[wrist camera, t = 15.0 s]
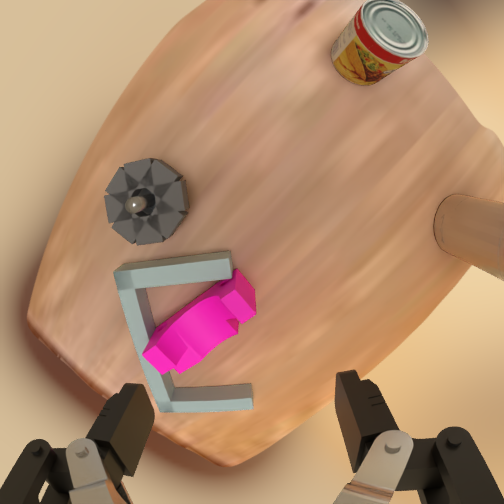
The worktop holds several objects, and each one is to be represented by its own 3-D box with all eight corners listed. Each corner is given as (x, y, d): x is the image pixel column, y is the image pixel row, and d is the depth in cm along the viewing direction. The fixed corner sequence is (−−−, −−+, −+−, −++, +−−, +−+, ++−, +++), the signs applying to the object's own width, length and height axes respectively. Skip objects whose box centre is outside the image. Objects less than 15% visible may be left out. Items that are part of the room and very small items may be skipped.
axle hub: (173, 177, 36) (149, 179, 26) (178, 211, 37) (156, 224, 27) (141, 183, 36) (109, 187, 26) (146, 217, 37) (117, 230, 28)
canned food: (381, 93, 33) (428, 69, 21) (327, 75, 32) (358, 39, 21) (386, 47, 31) (428, 14, 19) (334, 29, 30) (363, -15, 19)
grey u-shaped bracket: (230, 250, 38) (228, 258, 35) (253, 394, 44) (253, 409, 41) (123, 264, 38) (113, 272, 35) (164, 398, 44) (160, 412, 41)
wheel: (182, 154, 31) (176, 152, 29) (193, 233, 33) (189, 238, 31) (110, 169, 31) (100, 169, 29) (122, 243, 33) (113, 248, 31)
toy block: (185, 356, 42) (175, 387, 35) (156, 326, 41) (141, 354, 34) (265, 302, 40) (269, 329, 33) (237, 267, 39) (234, 289, 32)
